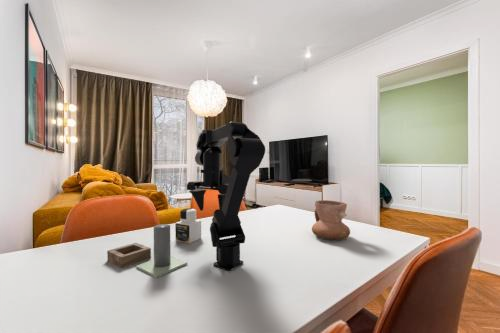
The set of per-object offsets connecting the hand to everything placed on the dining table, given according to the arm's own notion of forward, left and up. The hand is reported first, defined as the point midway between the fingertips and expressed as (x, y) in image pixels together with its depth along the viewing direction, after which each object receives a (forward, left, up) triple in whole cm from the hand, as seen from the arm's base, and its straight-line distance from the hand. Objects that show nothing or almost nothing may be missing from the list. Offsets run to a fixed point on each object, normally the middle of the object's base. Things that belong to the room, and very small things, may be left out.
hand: (211, 212), depth 80 cm
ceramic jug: (-28, -38, -13) cm, 49 cm away
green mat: (+3, +17, -13) cm, 22 cm away
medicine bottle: (+16, -3, -13) cm, 21 cm away
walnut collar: (+16, +20, -13) cm, 29 cm away
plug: (+2, +17, -12) cm, 22 cm away
